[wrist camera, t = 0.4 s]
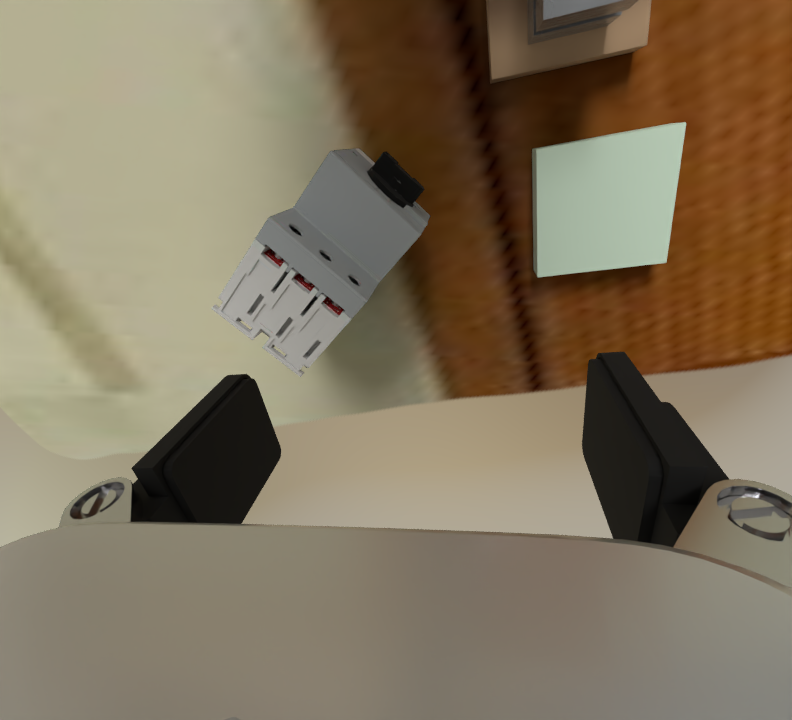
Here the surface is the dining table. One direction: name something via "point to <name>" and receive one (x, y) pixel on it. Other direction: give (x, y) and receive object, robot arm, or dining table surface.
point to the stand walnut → (556, 40)
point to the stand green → (605, 200)
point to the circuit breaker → (324, 255)
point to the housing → (570, 16)
